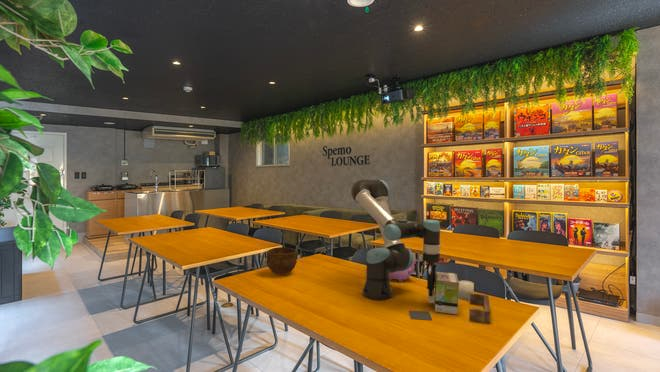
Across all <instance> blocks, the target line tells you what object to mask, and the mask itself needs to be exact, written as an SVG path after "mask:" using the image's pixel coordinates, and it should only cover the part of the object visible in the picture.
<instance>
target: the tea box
mask: <svg viewBox="0 0 660 372" xmlns="http://www.w3.org/2000/svg"><path fill="white" fill-rule="evenodd" d="M459 281H460V280H459V278H458V274H457V273H454V272H442V271H435V285H434V286H435V288H434V312H436V313H443V314H450V315H458V313H459V312H458V310H459Z"/></svg>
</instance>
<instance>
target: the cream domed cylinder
mask: <svg viewBox="0 0 660 372" xmlns="http://www.w3.org/2000/svg"><path fill="white" fill-rule="evenodd" d="M458 281H459V294H458V300H461V301H465V300H466V301H465V302H470V293H475V291H474V289H475V286H474V285H475V283H474V282H473V281H470V280H458Z"/></svg>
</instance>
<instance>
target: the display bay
mask: <svg viewBox="0 0 660 372" xmlns="http://www.w3.org/2000/svg"><path fill="white" fill-rule="evenodd" d="M473 304H474V305H476V306H482V307H483V309H481V308H480V309H478V308H473V307H472V308H471V307H469V314H468V318H469V319H468V321H469V322H475V323H480V324H491V307H490V298H489V295H488V294H487V295H486V294H482V293H475V292H474V293H470V301H469V305H473Z"/></svg>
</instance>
